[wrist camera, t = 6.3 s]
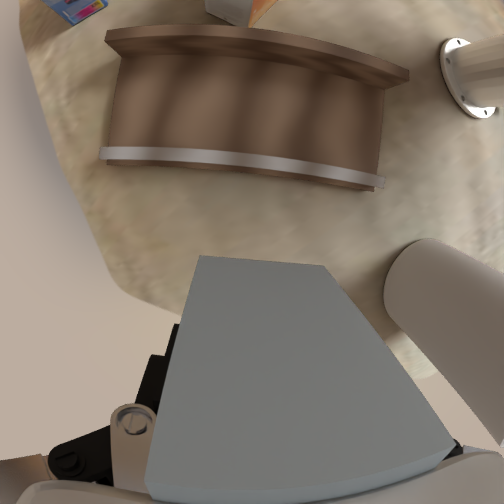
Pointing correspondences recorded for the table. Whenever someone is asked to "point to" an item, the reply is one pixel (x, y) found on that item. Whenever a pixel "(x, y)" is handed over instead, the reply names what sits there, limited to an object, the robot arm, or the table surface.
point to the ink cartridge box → (75, 8)
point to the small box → (238, 10)
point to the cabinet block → (283, 394)
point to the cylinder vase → (454, 321)
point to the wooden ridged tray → (248, 103)
